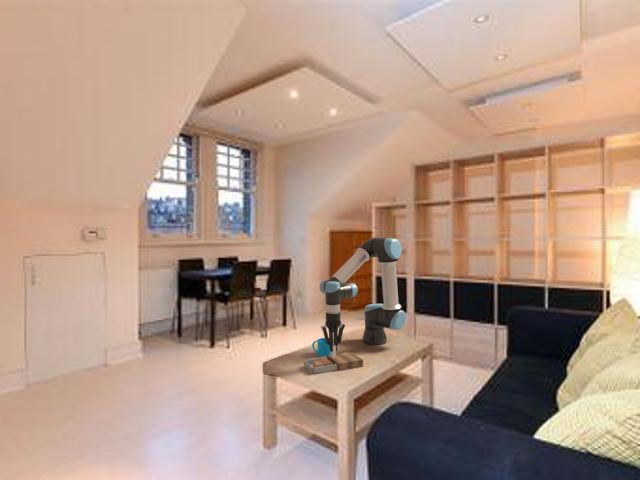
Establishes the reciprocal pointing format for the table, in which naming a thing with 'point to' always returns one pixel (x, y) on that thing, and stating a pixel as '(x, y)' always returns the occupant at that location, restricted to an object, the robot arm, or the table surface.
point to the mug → (322, 347)
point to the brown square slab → (346, 361)
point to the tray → (327, 368)
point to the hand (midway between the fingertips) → (333, 357)
